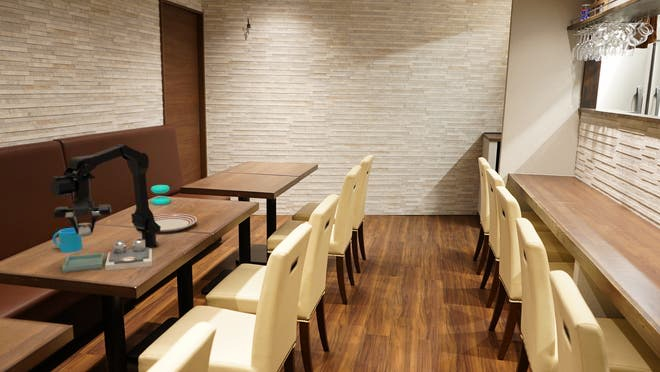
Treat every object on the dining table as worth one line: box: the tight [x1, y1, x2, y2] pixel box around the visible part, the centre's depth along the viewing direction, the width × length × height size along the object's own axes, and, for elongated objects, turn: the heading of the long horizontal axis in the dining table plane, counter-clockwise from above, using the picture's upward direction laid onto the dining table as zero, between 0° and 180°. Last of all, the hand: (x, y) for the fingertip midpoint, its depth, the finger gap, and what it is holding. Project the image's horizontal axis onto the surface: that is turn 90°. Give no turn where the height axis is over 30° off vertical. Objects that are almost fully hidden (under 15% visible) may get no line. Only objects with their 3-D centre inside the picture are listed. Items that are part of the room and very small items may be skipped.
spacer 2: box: [113, 239, 127, 254], centre depth 206 cm, size 4×4×4 cm
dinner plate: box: [153, 213, 198, 233], centre depth 253 cm, size 27×27×3 cm
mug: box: [52, 227, 83, 254], centre depth 218 cm, size 12×8×8 cm
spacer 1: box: [77, 222, 93, 237], centre depth 197 cm, size 4×4×4 cm
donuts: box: [150, 184, 171, 206], centre depth 301 cm, size 10×10×10 cm
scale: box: [104, 247, 153, 272], centre depth 203 cm, size 17×16×4 cm
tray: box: [61, 252, 106, 273], centre depth 199 cm, size 13×13×2 cm
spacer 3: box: [132, 238, 146, 252], centre depth 208 cm, size 4×4×4 cm
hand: (84, 233), depth 197 cm, fingers closed on spacer 1, 4 cm apart
